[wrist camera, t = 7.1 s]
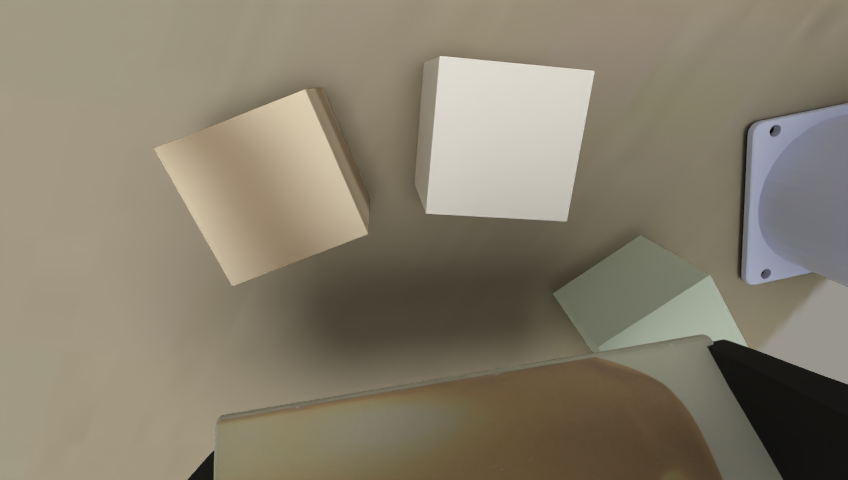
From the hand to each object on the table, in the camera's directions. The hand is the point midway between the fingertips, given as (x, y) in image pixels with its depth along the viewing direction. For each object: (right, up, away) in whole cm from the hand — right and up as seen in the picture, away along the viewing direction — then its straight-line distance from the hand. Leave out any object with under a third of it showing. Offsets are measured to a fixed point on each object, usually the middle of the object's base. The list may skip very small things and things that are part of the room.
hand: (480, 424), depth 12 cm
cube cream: (+1, +9, +8) cm, 12 cm away
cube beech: (-7, +8, +8) cm, 13 cm away
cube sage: (+8, +2, +11) cm, 14 cm away
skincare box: (+6, -1, +1) cm, 7 cm away
